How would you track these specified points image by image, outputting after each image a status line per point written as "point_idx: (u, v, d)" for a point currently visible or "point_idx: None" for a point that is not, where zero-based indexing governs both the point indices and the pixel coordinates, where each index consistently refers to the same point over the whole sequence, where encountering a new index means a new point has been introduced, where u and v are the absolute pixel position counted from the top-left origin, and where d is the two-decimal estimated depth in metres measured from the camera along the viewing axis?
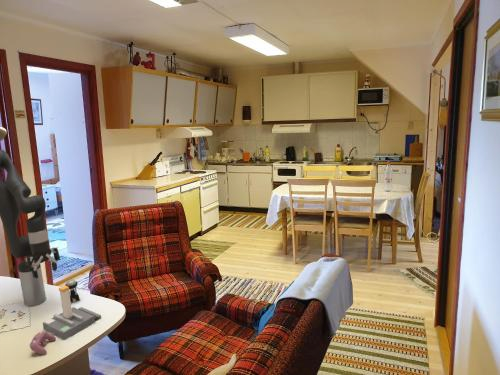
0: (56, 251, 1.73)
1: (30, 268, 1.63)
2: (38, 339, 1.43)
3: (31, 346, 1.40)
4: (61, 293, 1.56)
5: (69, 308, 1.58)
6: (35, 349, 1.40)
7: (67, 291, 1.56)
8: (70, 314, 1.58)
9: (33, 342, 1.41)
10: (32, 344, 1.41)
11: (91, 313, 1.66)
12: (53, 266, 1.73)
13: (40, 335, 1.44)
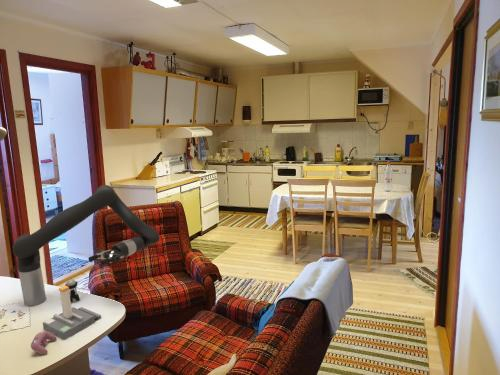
0: None
1: None
2: (39, 339, 1.43)
3: (32, 346, 1.40)
4: (61, 293, 1.56)
5: (69, 308, 1.58)
6: (36, 349, 1.40)
7: (67, 291, 1.56)
8: (70, 314, 1.58)
9: (34, 342, 1.41)
10: (33, 344, 1.41)
11: (91, 313, 1.66)
12: (93, 258, 1.72)
13: (41, 335, 1.44)
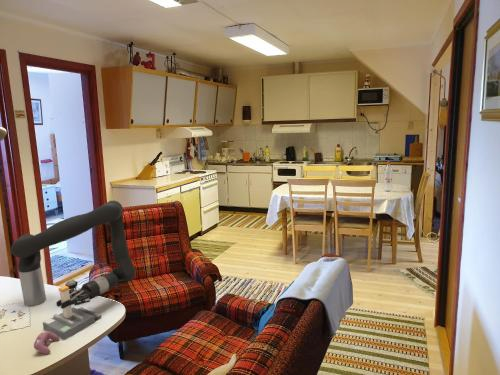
0: None
1: None
2: (42, 339, 1.43)
3: (35, 346, 1.41)
4: (61, 293, 1.56)
5: (69, 308, 1.58)
6: (39, 349, 1.41)
7: (67, 291, 1.56)
8: (70, 314, 1.58)
9: (37, 342, 1.41)
10: (36, 344, 1.41)
11: (91, 313, 1.66)
12: None
13: (44, 335, 1.45)
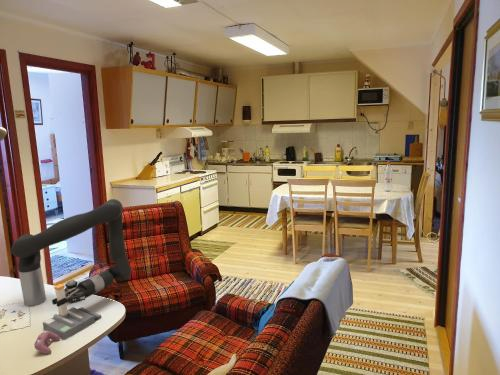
0: None
1: None
2: (42, 339, 1.43)
3: (35, 346, 1.41)
4: (56, 291, 1.57)
5: (64, 306, 1.59)
6: (40, 348, 1.41)
7: (62, 289, 1.58)
8: (65, 312, 1.60)
9: (37, 342, 1.41)
10: (36, 344, 1.41)
11: (91, 313, 1.66)
12: None
13: (44, 335, 1.45)
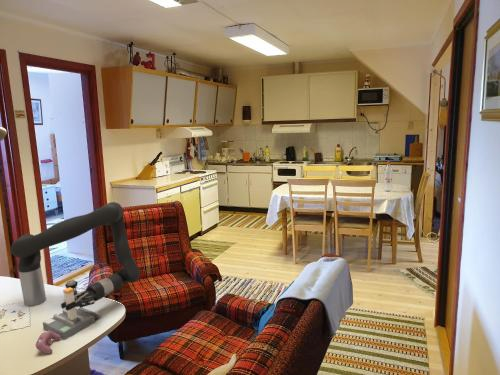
0: None
1: None
2: (44, 338, 1.43)
3: (37, 345, 1.41)
4: (66, 295, 1.54)
5: (74, 310, 1.56)
6: (41, 348, 1.41)
7: (72, 293, 1.55)
8: (75, 316, 1.57)
9: (39, 341, 1.41)
10: (38, 343, 1.41)
11: (91, 313, 1.66)
12: None
13: (46, 334, 1.45)
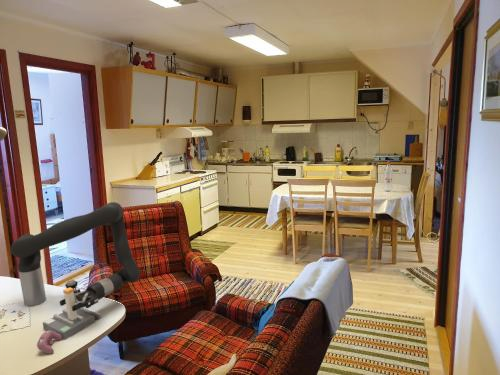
0: None
1: None
2: (45, 338, 1.43)
3: (38, 345, 1.41)
4: (66, 295, 1.54)
5: None
6: (42, 348, 1.41)
7: (72, 293, 1.55)
8: (75, 316, 1.57)
9: (40, 341, 1.41)
10: (39, 343, 1.41)
11: (91, 313, 1.66)
12: (65, 302, 1.58)
13: (47, 334, 1.45)
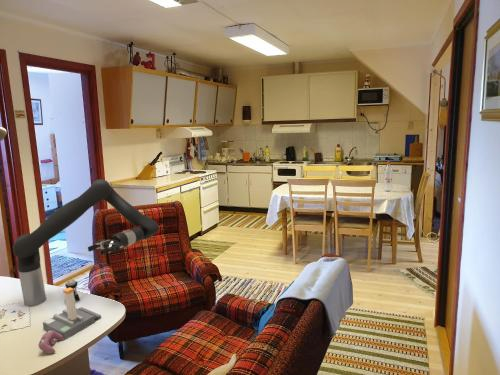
0: None
1: None
2: (47, 338, 1.43)
3: (40, 345, 1.41)
4: (66, 295, 1.54)
5: (74, 310, 1.56)
6: (44, 348, 1.41)
7: (72, 293, 1.55)
8: (75, 316, 1.57)
9: (42, 341, 1.41)
10: (41, 343, 1.41)
11: (91, 313, 1.66)
12: (93, 248, 1.71)
13: (48, 334, 1.45)
